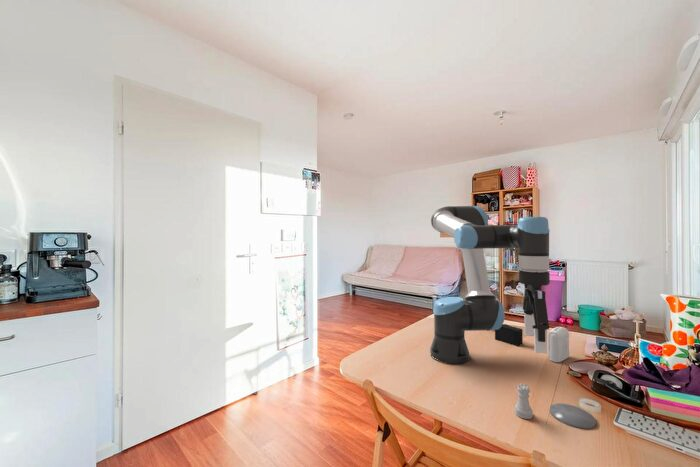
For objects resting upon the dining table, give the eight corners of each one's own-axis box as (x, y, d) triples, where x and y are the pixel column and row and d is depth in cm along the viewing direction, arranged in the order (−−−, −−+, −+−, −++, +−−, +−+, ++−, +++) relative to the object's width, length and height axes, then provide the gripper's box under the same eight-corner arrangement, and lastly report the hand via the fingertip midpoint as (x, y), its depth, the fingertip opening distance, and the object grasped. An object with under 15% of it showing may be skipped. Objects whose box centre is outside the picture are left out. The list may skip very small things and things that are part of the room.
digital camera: (524, 343, 130) (524, 328, 130) (518, 346, 127) (518, 330, 127) (501, 337, 139) (500, 322, 139) (495, 339, 136) (494, 324, 135)
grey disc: (554, 423, 77) (554, 420, 77) (546, 402, 86) (546, 400, 86) (602, 432, 73) (602, 430, 73) (588, 410, 82) (588, 408, 82)
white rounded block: (558, 353, 119) (558, 323, 119) (570, 357, 116) (570, 326, 116) (546, 360, 114) (546, 328, 114) (559, 364, 110) (559, 331, 110)
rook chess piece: (525, 421, 78) (525, 392, 78) (510, 412, 82) (510, 384, 82) (536, 417, 80) (536, 388, 79) (521, 408, 84) (521, 380, 84)
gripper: (563, 276, 71) (564, 363, 71) (538, 265, 94) (539, 331, 94) (527, 275, 74) (529, 359, 74) (512, 265, 97) (513, 328, 97)
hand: (534, 343), depth 84 cm, fingers open, 13 cm apart
